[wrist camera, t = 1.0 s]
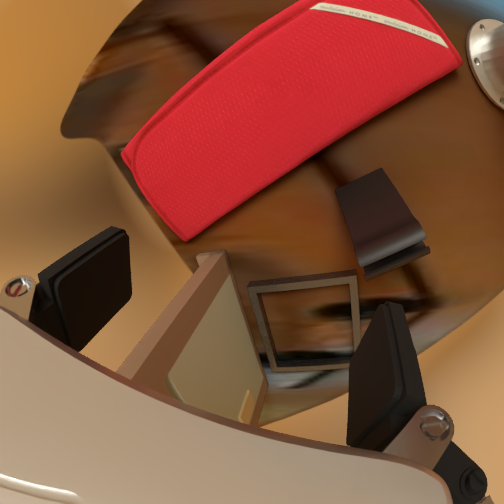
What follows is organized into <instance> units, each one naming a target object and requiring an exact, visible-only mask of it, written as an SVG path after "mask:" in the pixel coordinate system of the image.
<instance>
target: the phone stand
mask: <svg viewBox="0 0 504 504" xmlns="http://www.w3.org/2000/svg"><path fill="white" fill-rule="evenodd" d="M335 191H336V194H337V197H338V200H339V202H340V205H341V208H342V211H343V214H344V217H345V220H346V222H347V225H348V228H349V232H350V235H351V238H352V241H353V244H354V251H355V254H356V257H357V260H358V263H359V265H360V268H362V267H364V270H365V274H364V277H365V279H366V280H367V281H368V280H371V279H373V278H375V277H378V276H380V275H382V274H385V273H387V272H389V271H392V270H394V269H396V268H398V267H401V266H403V265H405V264H407V263H410V262H412V261H414V260H416V259H419V258H421V257H423V256H425V255H427V254H429V253H430V248H429V246H427V247H426V246H425V244H424V242H423V240H424V239H426V235H425V233H424V231H423V229H422V227H421V225H420V223H419V222H418V220H416V219H415V218H414V216H413V215H412V213H411V212H410V210H409V208H408V207H407V205H406V204H405V202H404V200H403V199H402V197H401V196H400V194H399V193H398V191H397V190H396V188H395V187H394V185H393V184H392V182H391V181H390V179H389V178H388V176H387V175H386V174H385V172H384V171H383V169H382V168H380V169H378V170H375V171H373V172H371V173H369V174H367V175H365V176H363V177H361V178H359V179H357V180H354V181H352V182H350V183H348V184H346V185H344V186H342V187H340V188H338V189H336V190H335Z"/></svg>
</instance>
